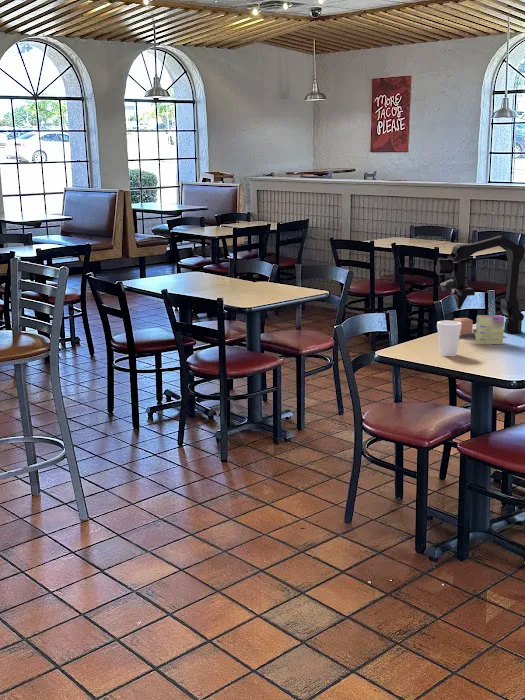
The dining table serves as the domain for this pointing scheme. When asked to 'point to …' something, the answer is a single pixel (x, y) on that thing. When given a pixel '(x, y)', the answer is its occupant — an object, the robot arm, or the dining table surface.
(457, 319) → the terracotta block
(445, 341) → the foam cup
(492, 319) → the box
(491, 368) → the dining table surface
